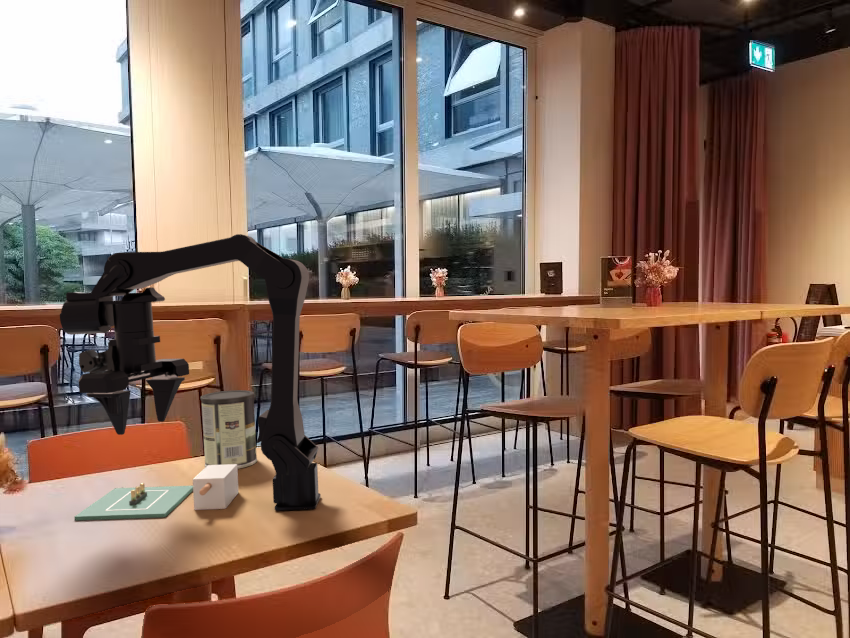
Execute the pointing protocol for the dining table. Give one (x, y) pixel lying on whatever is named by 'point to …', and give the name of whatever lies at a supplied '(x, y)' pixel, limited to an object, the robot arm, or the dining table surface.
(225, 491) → the block
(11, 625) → the dining table surface
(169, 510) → the pin board
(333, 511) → the dining table surface
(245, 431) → the coffee can
